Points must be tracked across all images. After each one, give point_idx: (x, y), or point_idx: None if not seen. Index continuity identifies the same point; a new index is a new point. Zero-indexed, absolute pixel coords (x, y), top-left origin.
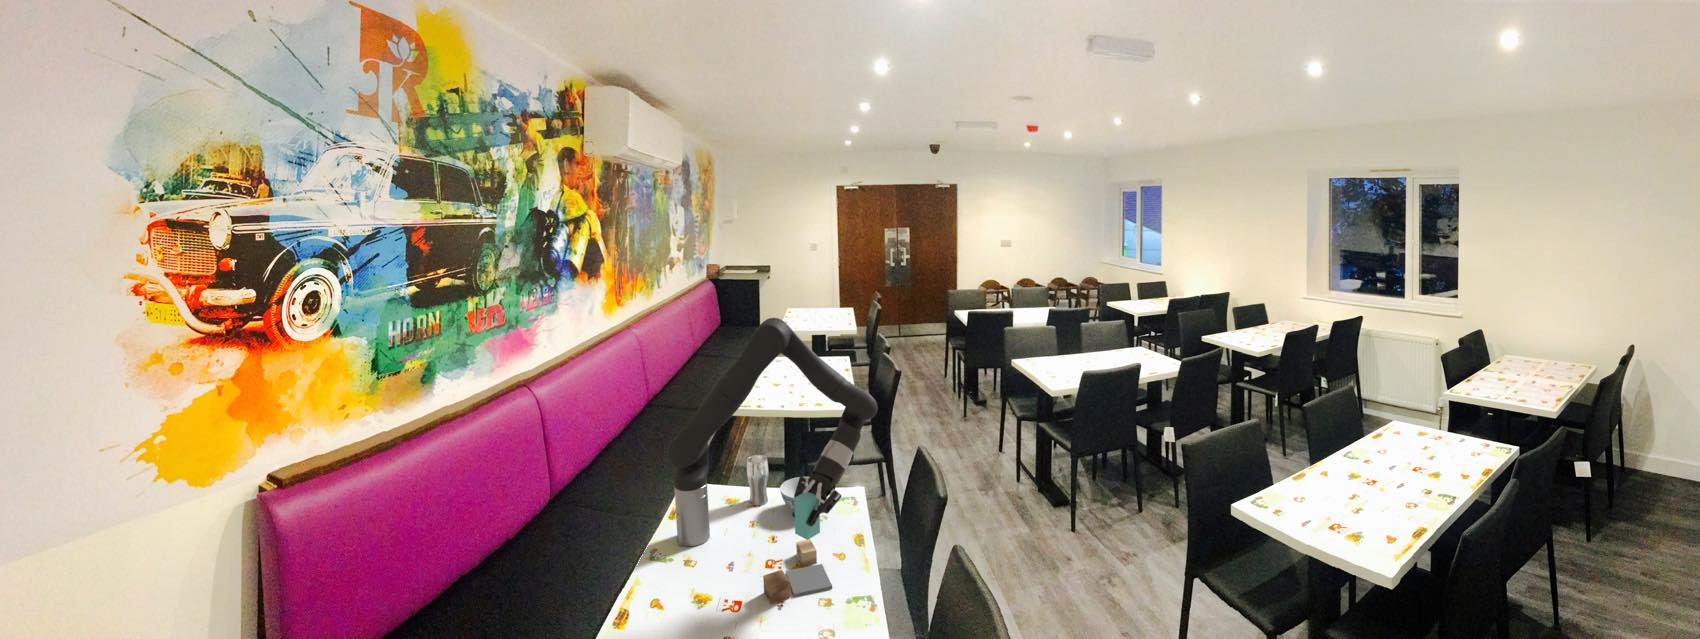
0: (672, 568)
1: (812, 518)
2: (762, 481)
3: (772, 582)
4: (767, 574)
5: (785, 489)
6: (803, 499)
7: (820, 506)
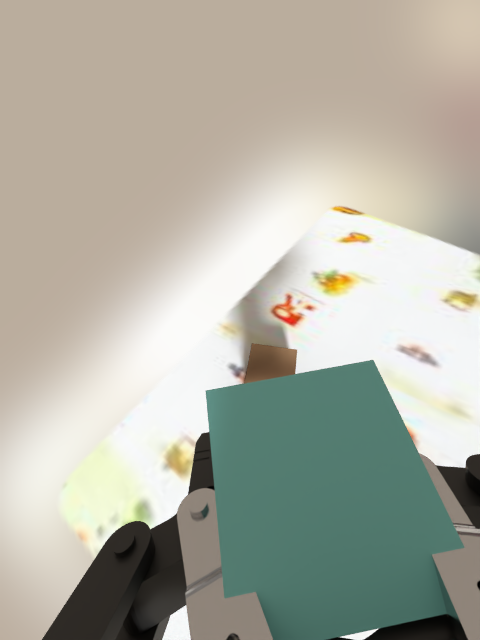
0: (450, 274)
1: (203, 453)
2: None
3: (260, 352)
4: (295, 358)
5: None
6: (287, 410)
7: (173, 560)
